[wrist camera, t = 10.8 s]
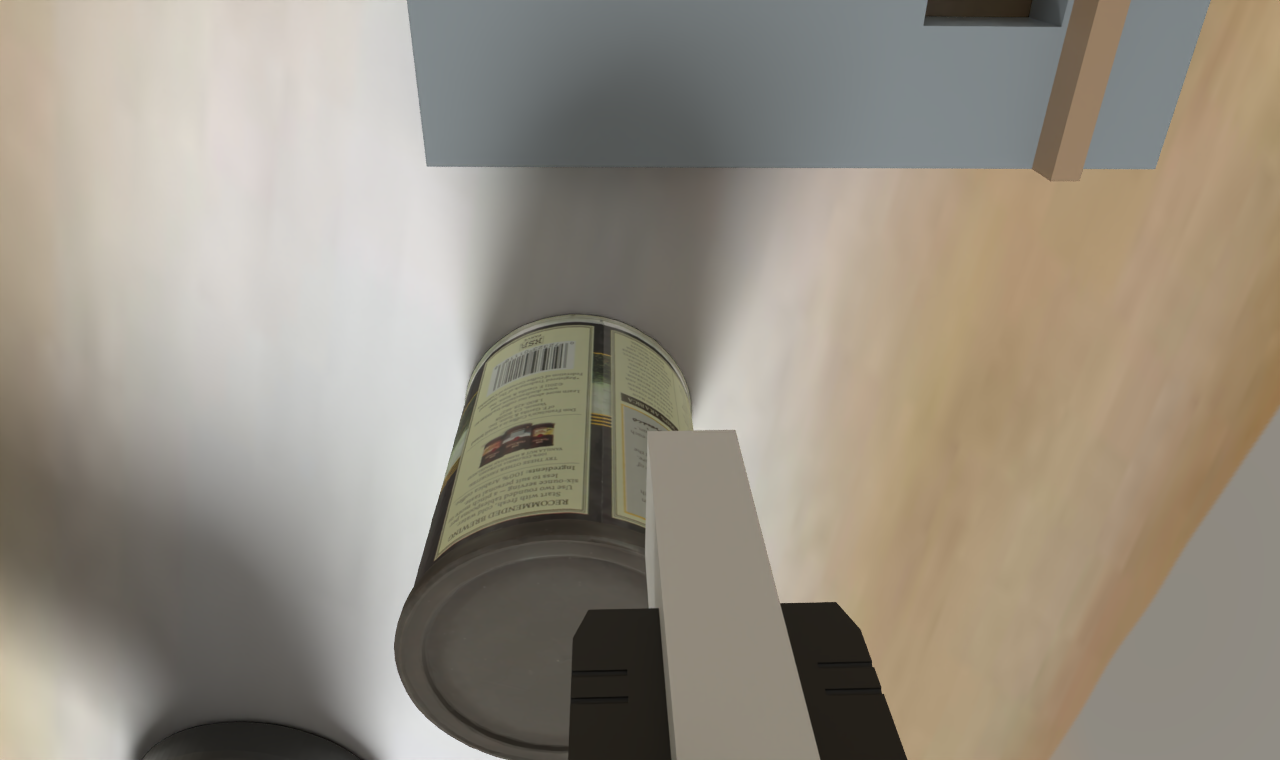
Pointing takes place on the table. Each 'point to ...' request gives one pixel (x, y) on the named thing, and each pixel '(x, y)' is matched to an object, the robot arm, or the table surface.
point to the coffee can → (535, 528)
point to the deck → (799, 83)
